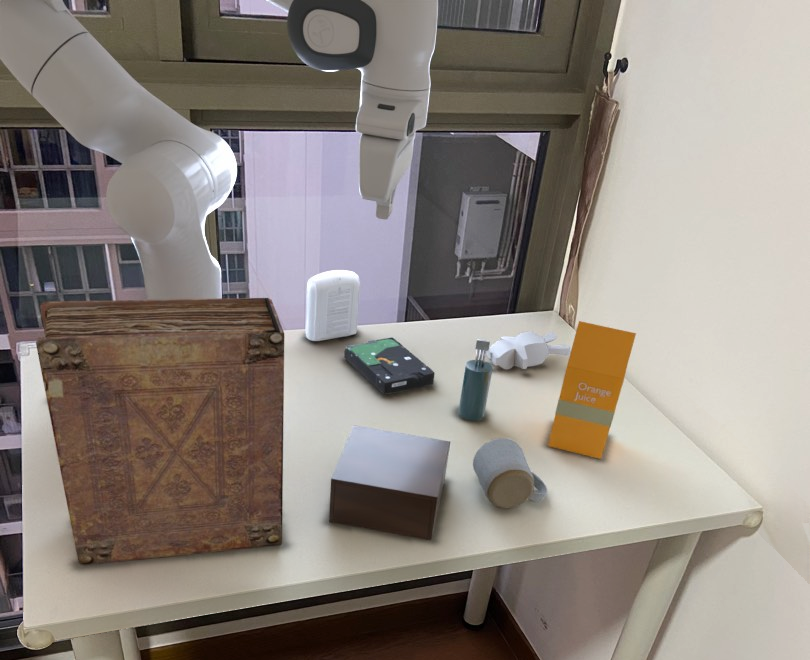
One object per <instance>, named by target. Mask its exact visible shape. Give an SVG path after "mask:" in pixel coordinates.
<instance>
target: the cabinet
mask: <svg viewBox="0 0 810 660" xmlns="http://www.w3.org/2000/svg"><path fill="white" fill-rule="evenodd" d="M450 447H451V441H449V440H443V439H437V438H432V437H426V436H420V435H415V434H409V433H408V434H407V433H403V432H396V431H391V430H385V429H380V428H374V427H367V426H361V425H355V424H354V425H352V428H351V430H350V433H349V435H348V437H347V440H346V442H345V444H344V447H343V449H342V451H341V455H340V457H339V458H338V462H337V464H336V466H335V469H334V470H333V473H332V476H331V478H330V493H329V495H330V496H329V513H328V523H332V524H338V525H343V526H349V527H354V528H355V527H356V528H361V529H366V530H372V531H377V532H383V533H389V534H395V535H399V536H405V537H410V538H417V539H421V540H422V539H423V540H427V541H432V539H433V535H434V530H435V526H436V522H437V517H438V511H439V508H440V504H441V498H442V495H443V490H444V485H445V482H446V481H445V480H446V474H447V467H448V460H449V456H450V455H449V454H450Z"/></svg>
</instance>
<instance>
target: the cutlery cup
mask: <svg viewBox="0 0 810 660" xmlns="http://www.w3.org/2000/svg"><path fill="white" fill-rule="evenodd" d="M490 343H491V341H489V340H487V339H483V338H480V339H476V343H475V347H474V348H475V350H476V354H475V359H471V360H468V361H467V362H466V363H465V367H464V373H463V379H462V386H461V391H460V399H459V403H458V412H457V414H458V416H459V417H460V418H461V419H463V420H465V421H470V422H478V421H481V420H483V419H484V418H485V414H486V408H487V401H488V398H489V397H488V396H489V391H490V385H491V380H492V375H493V369H494V367H493V365H492V364H491V363H490V362H488V361H486V357H487V351H489V348H490Z"/></svg>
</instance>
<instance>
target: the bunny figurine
mask: <svg viewBox="0 0 810 660" xmlns="http://www.w3.org/2000/svg"><path fill="white" fill-rule="evenodd" d="M557 338H558V334H557V333H555V332H554V331H553V332H552V331H548V332H547V333H545V334H544V335H540V334H539V333H537V332H535V331H531V330H530V331H523V332H521V333H518V334H517V335H516V336H515V337H514V336H508V335H502V336H500V339H497V340H496V341H494V342H493V344H492V345H491V346H489V351H486V357H487V358H488V360H490V361H491V363H492V364H493V365H495V366H499V367H501V369H503V370H510V369H512V368H513V367H516V368H519V369H521V370H527V368H528V367H535V366H539V365H542V364H544V362H545V360H546V359H547V358H548V356H549V355H556V356H564V357H565V356H570V353H571V346H570V345H568V344H549V343H551V342H553V341H555V340H557ZM548 344H549V345H548Z"/></svg>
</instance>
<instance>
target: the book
mask: <svg viewBox="0 0 810 660" xmlns="http://www.w3.org/2000/svg"><path fill="white" fill-rule="evenodd" d="M39 308H40V314H41V320H42V326H43V331H44V336H40V337H37V339H36V341H35V346H36V350H37V356H38V361H39V365H40V366H39V367H40V372H41V377H42V382H43V387H44V392H45V397H46V402H47V407H48V408H47V409H48V414H49V418H50V423H51V428H52V434H53V439H54V444H55V450H56V453H57V461H58V465H59V469H60V470H59V471H60V475H61V480H62V485H63V490H64V497H65V501H66V505H67V511H68V517H69V521H70V528H71V532H72V538H73V543H74V547H75V552H76V553H75V554H76V558H77V563H78V564H79V565H80V566H88V565H89V566H90V565H98V564H109V563H116V562H117V563H121V562H128V561H129V562H130V561H138V560H149V559H157V558H166V557H176V556H177V557H179V556H186V555H196V554H205V553H215V552H224V551H225V552H226V551H235V550H245V549H253V548H254V549H255V548H263V547H272V546H273V547H274V546H281V545H282V543H283V502H284V501H283V497H284V495H283V494H284V493H283V491H284V409H285V408H284V404H285V403H284V400H285V331H284V329H283V326H282V323H281V321H280V318H279V316H278V313H277V310H276V308H275V305H274V303H273V300H272V299H271V298H269V297H239V298H238V297H233V298H222V299H170V300H146V299H119V300H118V299H117V300H116V299H114V300H113V299H112V300H64V301H63V300H62V301H59V300H58V301H44V302H41V303H40V306H39Z"/></svg>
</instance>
